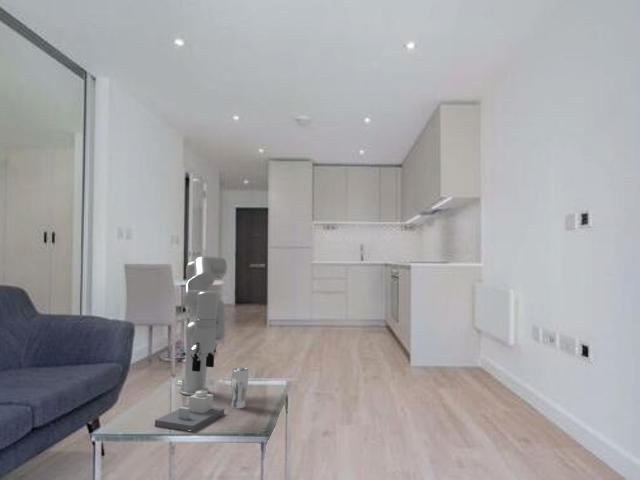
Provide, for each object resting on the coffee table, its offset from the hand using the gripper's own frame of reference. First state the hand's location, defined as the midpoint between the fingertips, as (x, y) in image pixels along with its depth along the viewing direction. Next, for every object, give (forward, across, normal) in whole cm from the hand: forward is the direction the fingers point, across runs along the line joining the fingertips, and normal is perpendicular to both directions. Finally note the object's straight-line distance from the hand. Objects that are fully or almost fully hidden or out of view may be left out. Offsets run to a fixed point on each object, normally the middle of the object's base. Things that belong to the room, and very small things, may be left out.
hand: (203, 368), depth 172 cm
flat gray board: (+17, +6, 0) cm, 18 cm away
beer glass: (+17, -16, +8) cm, 25 cm away
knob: (+15, 0, 0) cm, 15 cm away
